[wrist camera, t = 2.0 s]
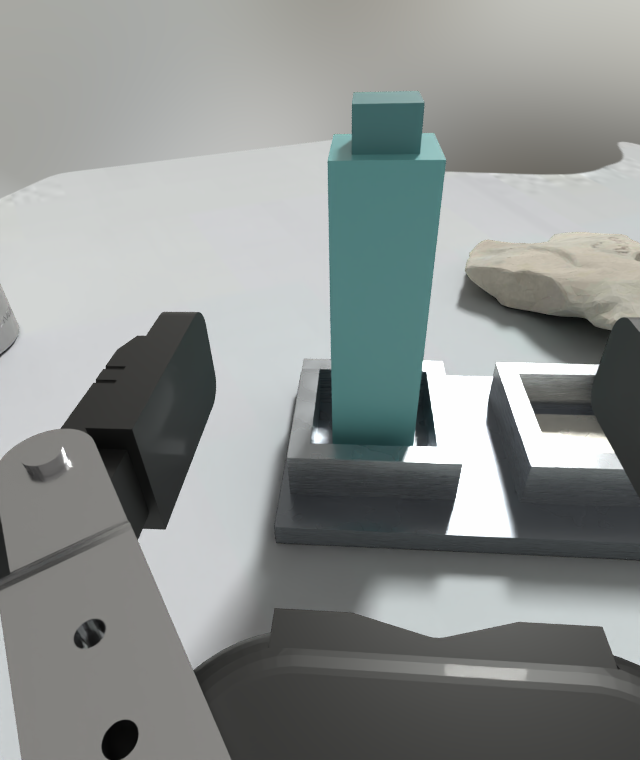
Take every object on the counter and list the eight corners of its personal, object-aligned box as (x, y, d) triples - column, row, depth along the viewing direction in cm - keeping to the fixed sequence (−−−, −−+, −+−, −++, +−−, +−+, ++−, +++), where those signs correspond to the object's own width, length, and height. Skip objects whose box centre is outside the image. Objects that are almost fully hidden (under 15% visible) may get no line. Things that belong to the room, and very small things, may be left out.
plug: (332, 465, 27) (326, 108, 17) (336, 414, 30) (333, 89, 20) (410, 467, 26) (452, 106, 16) (406, 416, 30) (438, 87, 20)
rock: (469, 372, 36) (717, 373, 32) (472, 310, 33) (740, 305, 30) (459, 263, 53) (618, 257, 50) (460, 218, 51) (628, 208, 47)
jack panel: (276, 542, 24) (269, 491, 22) (301, 387, 34) (298, 339, 32) (720, 563, 23) (760, 510, 21) (617, 394, 32) (637, 345, 30)
